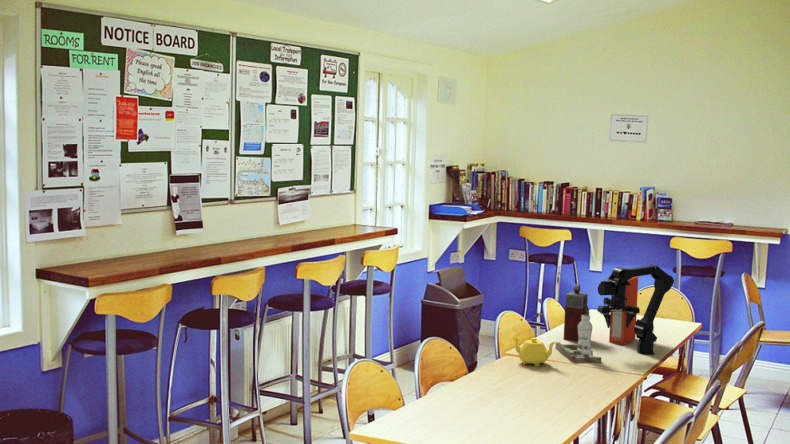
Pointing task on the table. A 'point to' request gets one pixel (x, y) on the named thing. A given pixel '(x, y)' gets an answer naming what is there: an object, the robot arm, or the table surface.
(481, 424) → the table surface
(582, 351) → the plastic bottle
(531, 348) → the teapot
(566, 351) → the comb rack
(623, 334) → the file binder
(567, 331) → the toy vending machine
